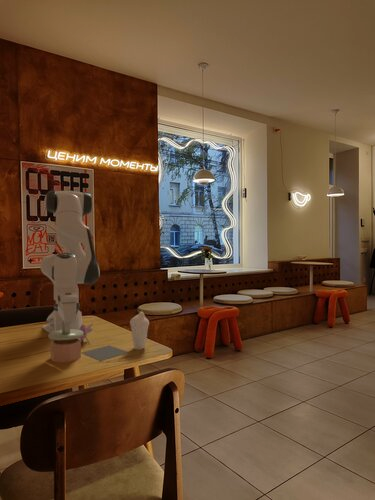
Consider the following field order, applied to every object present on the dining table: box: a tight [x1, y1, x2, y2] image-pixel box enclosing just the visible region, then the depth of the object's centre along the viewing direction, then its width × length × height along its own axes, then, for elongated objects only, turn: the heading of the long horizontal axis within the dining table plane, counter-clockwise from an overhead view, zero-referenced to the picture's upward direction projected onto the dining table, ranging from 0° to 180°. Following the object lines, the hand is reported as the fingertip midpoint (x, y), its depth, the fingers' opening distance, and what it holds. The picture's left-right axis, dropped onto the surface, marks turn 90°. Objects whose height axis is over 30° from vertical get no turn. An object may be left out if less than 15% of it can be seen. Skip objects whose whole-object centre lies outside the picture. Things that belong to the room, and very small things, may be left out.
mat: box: [81, 344, 130, 362], centre depth 146 cm, size 14×14×1 cm
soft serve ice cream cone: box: [129, 311, 150, 350], centre depth 153 cm, size 8×8×16 cm
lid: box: [47, 323, 83, 341], centre depth 139 cm, size 13×13×5 cm
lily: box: [79, 323, 94, 345], centre depth 158 cm, size 12×12×10 cm
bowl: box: [50, 338, 82, 364], centre depth 140 cm, size 11×11×7 cm
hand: (66, 329), depth 139 cm, fingers closed on lid, 3 cm apart
